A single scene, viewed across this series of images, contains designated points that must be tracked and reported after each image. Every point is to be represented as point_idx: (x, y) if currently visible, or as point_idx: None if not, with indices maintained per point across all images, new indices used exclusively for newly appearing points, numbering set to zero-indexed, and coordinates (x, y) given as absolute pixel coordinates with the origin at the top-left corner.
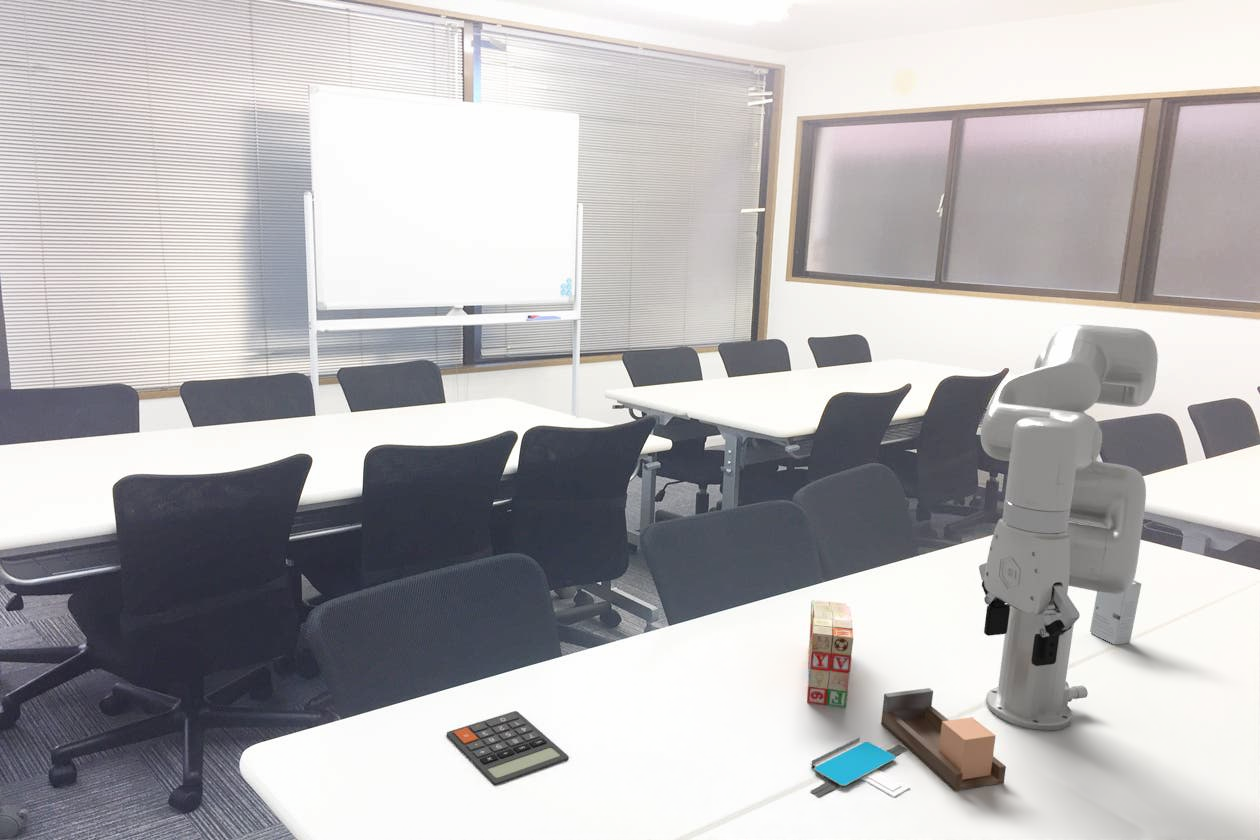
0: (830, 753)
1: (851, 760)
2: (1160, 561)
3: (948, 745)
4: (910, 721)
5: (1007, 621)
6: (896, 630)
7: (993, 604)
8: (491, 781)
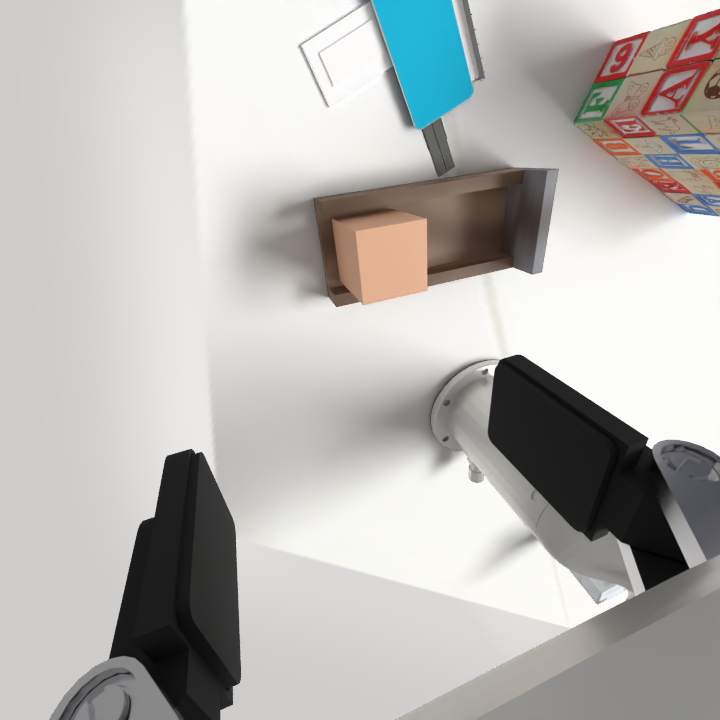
0: None
1: (425, 7)
2: None
3: (385, 217)
4: (500, 222)
5: (524, 472)
6: (679, 321)
7: (638, 476)
8: None
